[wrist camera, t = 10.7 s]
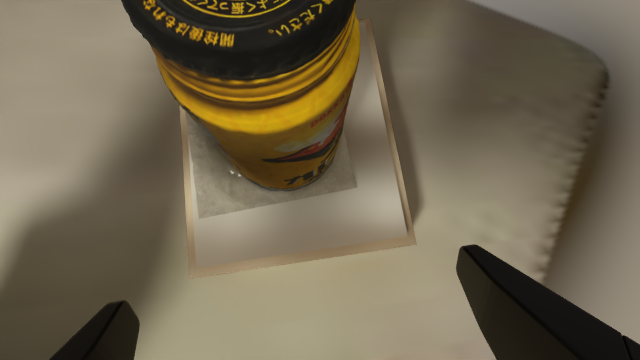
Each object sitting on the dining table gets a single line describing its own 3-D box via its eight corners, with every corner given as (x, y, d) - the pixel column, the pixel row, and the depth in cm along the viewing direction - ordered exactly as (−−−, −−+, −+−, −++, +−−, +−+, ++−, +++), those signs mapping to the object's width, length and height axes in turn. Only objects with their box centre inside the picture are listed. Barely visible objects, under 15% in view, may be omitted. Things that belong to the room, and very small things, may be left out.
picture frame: (403, 245, 20) (418, 244, 17) (205, 275, 20) (186, 279, 17) (363, 44, 23) (371, 14, 20) (191, 64, 23) (172, 36, 20)
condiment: (357, 188, 18) (441, 63, 6) (199, 219, 17) (-35, 148, 6) (329, 68, 19) (353, -214, 8) (183, 93, 19) (-28, -168, 7)
